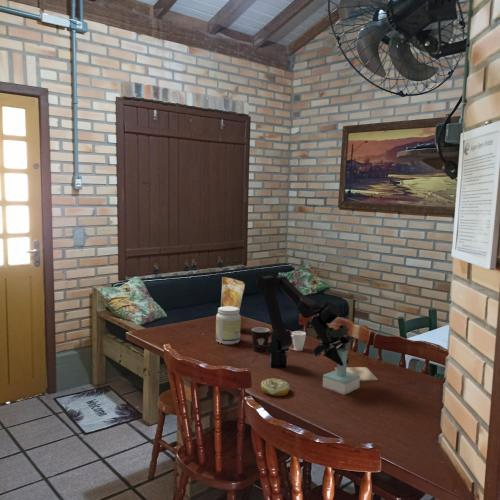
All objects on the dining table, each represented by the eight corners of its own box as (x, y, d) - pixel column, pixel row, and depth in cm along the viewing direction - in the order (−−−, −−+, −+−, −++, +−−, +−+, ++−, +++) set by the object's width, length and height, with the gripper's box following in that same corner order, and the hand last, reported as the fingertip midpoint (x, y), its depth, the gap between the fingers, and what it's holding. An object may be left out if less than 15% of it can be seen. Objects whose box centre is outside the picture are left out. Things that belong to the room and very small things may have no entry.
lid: (322, 379, 185) (324, 349, 184) (337, 373, 192) (339, 344, 191) (344, 387, 178) (346, 356, 177) (359, 380, 185) (361, 350, 184)
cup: (308, 350, 230) (309, 334, 229) (289, 352, 226) (290, 336, 225) (301, 346, 236) (301, 330, 236) (283, 348, 232) (283, 332, 232)
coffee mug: (248, 351, 226) (248, 330, 225) (254, 346, 234) (255, 326, 233) (271, 355, 222) (272, 334, 221) (277, 350, 230) (278, 329, 229)
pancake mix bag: (225, 324, 273) (226, 275, 270) (244, 332, 257) (246, 281, 254) (215, 326, 269) (216, 276, 266) (234, 334, 254) (235, 282, 251)
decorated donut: (272, 400, 173) (272, 389, 172) (255, 389, 182) (255, 380, 181) (294, 393, 179) (295, 384, 178) (277, 384, 188) (277, 374, 187)
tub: (322, 387, 185) (322, 377, 185) (337, 380, 193) (338, 371, 192) (344, 395, 178) (345, 384, 178) (359, 388, 186) (359, 378, 185)
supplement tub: (244, 340, 243) (245, 308, 241) (230, 346, 233) (231, 312, 231) (224, 336, 250) (225, 304, 248) (210, 342, 239) (211, 308, 238)
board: (343, 380, 192) (343, 379, 192) (334, 368, 206) (334, 367, 206) (377, 380, 194) (377, 379, 194) (366, 368, 208) (366, 367, 207)
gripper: (321, 322, 179) (344, 358, 172) (349, 315, 192) (372, 348, 186) (303, 338, 185) (325, 374, 179) (331, 330, 198) (353, 363, 192)
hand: (345, 364), depth 184 cm, fingers closed on lid, 3 cm apart
